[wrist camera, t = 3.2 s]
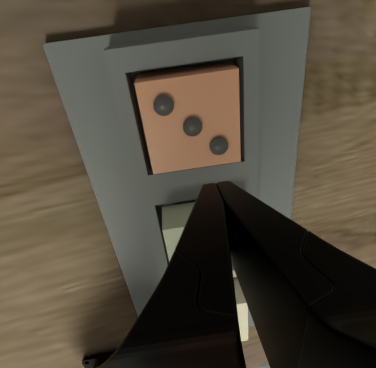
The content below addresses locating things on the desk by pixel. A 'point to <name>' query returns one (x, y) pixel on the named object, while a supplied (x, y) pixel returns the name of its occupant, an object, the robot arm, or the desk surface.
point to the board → (135, 136)
